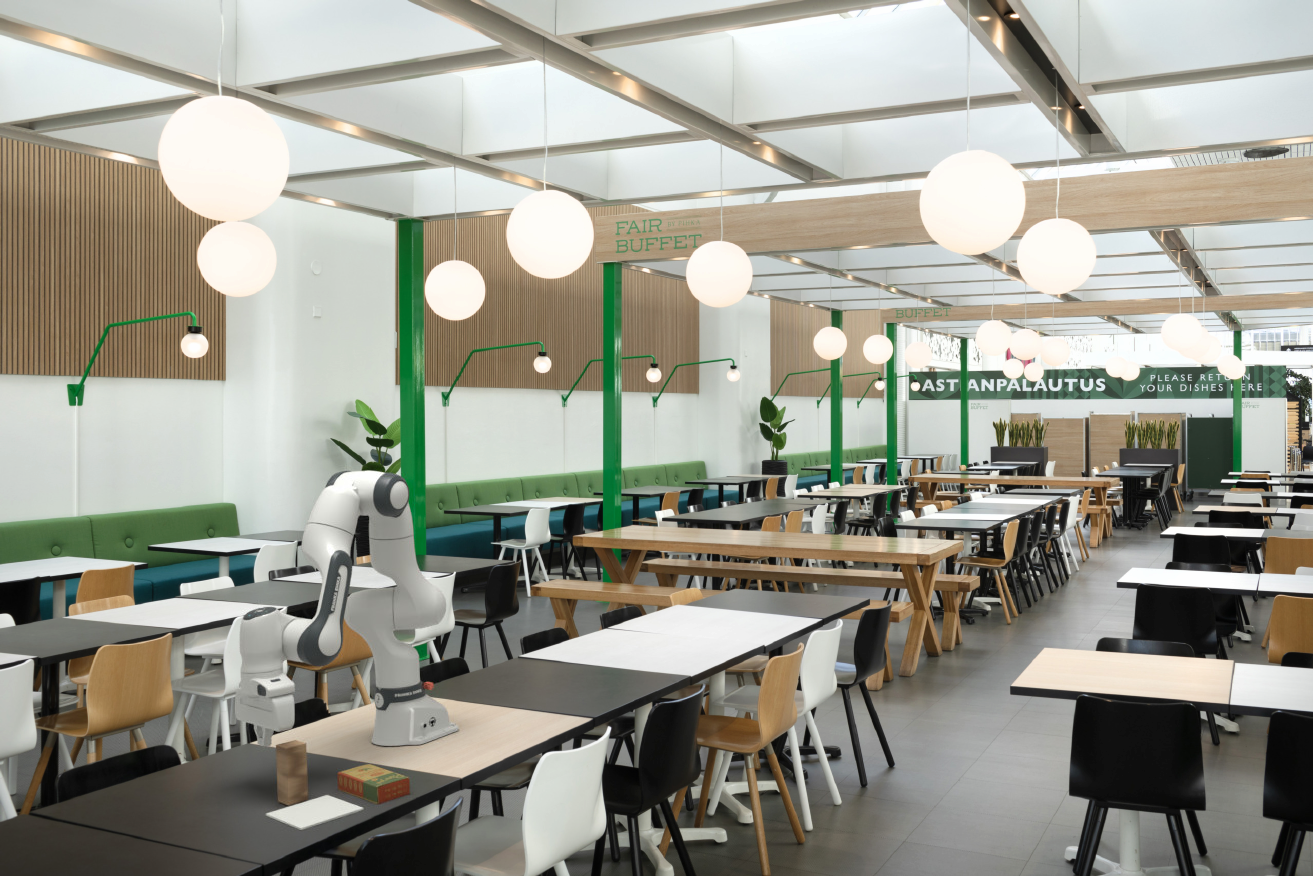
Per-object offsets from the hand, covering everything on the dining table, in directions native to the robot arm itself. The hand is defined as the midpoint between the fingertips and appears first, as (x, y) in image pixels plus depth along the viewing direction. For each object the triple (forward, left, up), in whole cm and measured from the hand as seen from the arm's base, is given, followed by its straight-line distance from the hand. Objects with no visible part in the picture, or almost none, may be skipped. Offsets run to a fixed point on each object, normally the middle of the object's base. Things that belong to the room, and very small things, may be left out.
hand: (264, 745), depth 229 cm
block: (0, +11, -10) cm, 15 cm away
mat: (+1, +22, -10) cm, 24 cm away
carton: (-14, +20, -11) cm, 27 cm away
